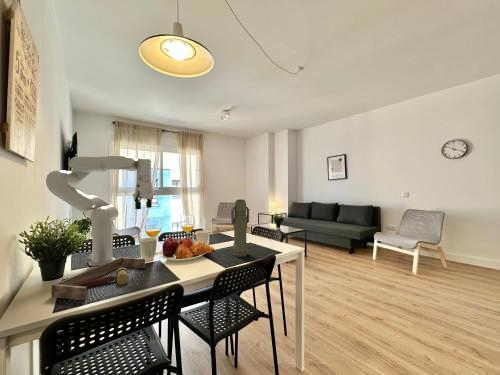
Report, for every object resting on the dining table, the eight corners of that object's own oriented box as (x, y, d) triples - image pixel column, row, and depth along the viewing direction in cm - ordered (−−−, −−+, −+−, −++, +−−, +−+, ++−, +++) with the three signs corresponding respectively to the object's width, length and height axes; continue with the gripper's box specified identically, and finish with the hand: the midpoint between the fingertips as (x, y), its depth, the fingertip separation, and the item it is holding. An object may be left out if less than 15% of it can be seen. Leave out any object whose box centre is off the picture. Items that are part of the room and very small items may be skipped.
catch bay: (51, 296, 84) (51, 285, 84) (120, 265, 118) (120, 257, 118) (83, 300, 81) (84, 288, 81) (145, 267, 116) (145, 258, 116)
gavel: (67, 288, 85) (70, 279, 93) (68, 299, 85) (71, 289, 93) (128, 273, 96) (126, 266, 105) (129, 283, 96) (127, 275, 105)
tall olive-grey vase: (251, 254, 137) (252, 199, 138) (235, 258, 131) (235, 200, 131) (244, 251, 145) (244, 199, 145) (228, 254, 138) (229, 199, 139)
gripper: (139, 178, 119) (139, 209, 118) (158, 180, 136) (158, 207, 136) (127, 178, 120) (127, 209, 120) (147, 180, 137) (147, 207, 137)
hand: (143, 208), depth 128 cm, fingers open, 9 cm apart
